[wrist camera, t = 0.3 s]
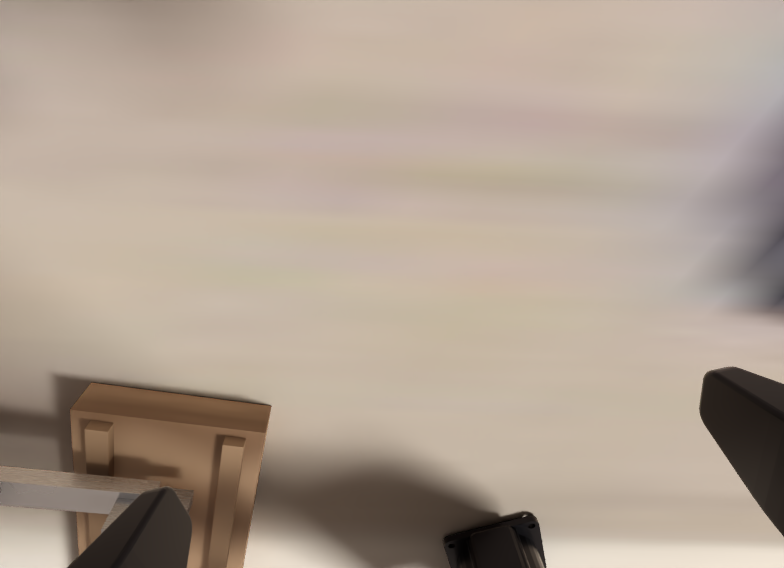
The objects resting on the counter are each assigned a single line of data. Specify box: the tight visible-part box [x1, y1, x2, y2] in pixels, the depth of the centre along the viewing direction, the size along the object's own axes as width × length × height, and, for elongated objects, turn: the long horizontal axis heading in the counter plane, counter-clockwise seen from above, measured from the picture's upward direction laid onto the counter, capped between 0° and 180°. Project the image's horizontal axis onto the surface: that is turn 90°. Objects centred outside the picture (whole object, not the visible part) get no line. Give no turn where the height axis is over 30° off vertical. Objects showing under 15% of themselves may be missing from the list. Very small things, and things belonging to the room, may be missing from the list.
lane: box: [70, 383, 271, 568], centre depth 27 cm, size 20×9×3 cm, turn 166°
